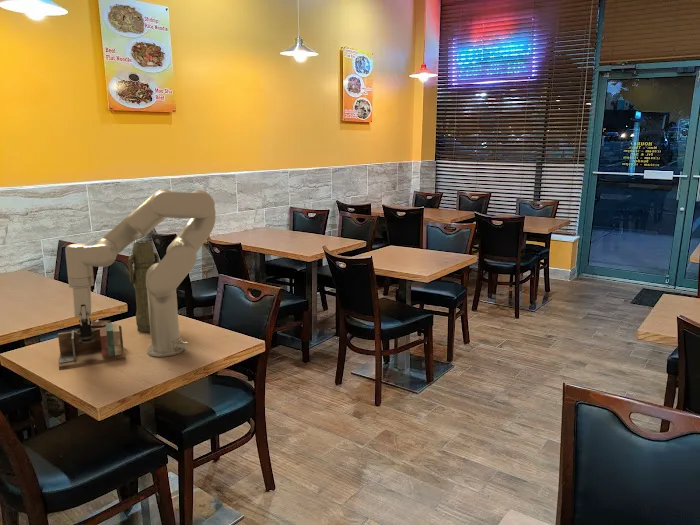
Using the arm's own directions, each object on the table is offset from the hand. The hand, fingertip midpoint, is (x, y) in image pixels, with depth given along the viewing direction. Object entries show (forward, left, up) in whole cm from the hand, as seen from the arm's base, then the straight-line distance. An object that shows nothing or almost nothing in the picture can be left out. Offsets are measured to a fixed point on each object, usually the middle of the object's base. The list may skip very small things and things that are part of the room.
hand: (86, 332), depth 181 cm
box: (+8, -15, -10) cm, 20 cm away
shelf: (0, -2, -10) cm, 10 cm away
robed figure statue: (0, -32, -10) cm, 33 cm away
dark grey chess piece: (0, 0, -3) cm, 3 cm away
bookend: (+6, +3, -9) cm, 11 cm away
